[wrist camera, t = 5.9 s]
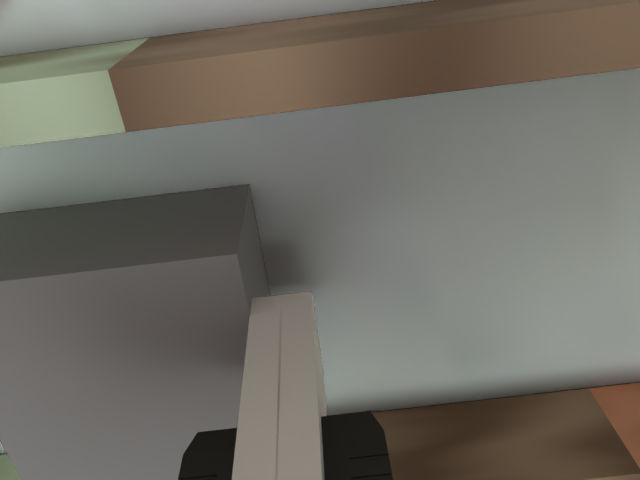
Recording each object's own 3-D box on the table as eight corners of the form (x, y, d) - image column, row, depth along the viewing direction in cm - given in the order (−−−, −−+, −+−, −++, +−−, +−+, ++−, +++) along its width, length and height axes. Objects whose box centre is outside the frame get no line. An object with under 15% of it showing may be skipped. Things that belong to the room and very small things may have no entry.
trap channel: (957, -67, 13) (1288, -64, 9) (782, 390, 20) (917, 519, 16) (-656, 141, 14) (-1088, 238, 10) (-286, 510, 21) (-439, 664, 17)
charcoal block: (250, 181, 16) (236, 253, 12) (285, 372, 19) (283, 472, 16) (2, 211, 16) (-82, 291, 12) (80, 395, 19) (32, 499, 16)
